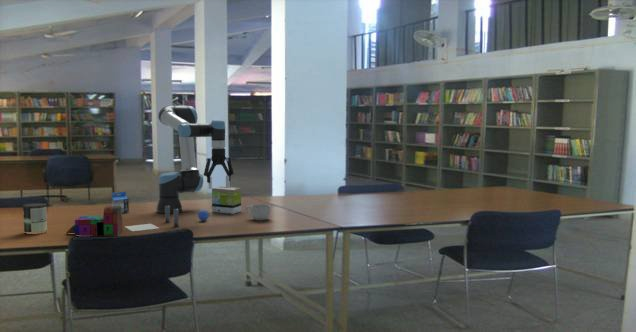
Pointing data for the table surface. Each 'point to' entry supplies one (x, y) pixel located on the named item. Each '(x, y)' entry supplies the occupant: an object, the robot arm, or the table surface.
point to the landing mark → (141, 227)
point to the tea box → (226, 200)
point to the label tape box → (121, 201)
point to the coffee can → (35, 217)
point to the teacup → (259, 211)
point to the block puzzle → (100, 222)
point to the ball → (203, 215)
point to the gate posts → (175, 215)
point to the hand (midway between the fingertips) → (218, 187)
